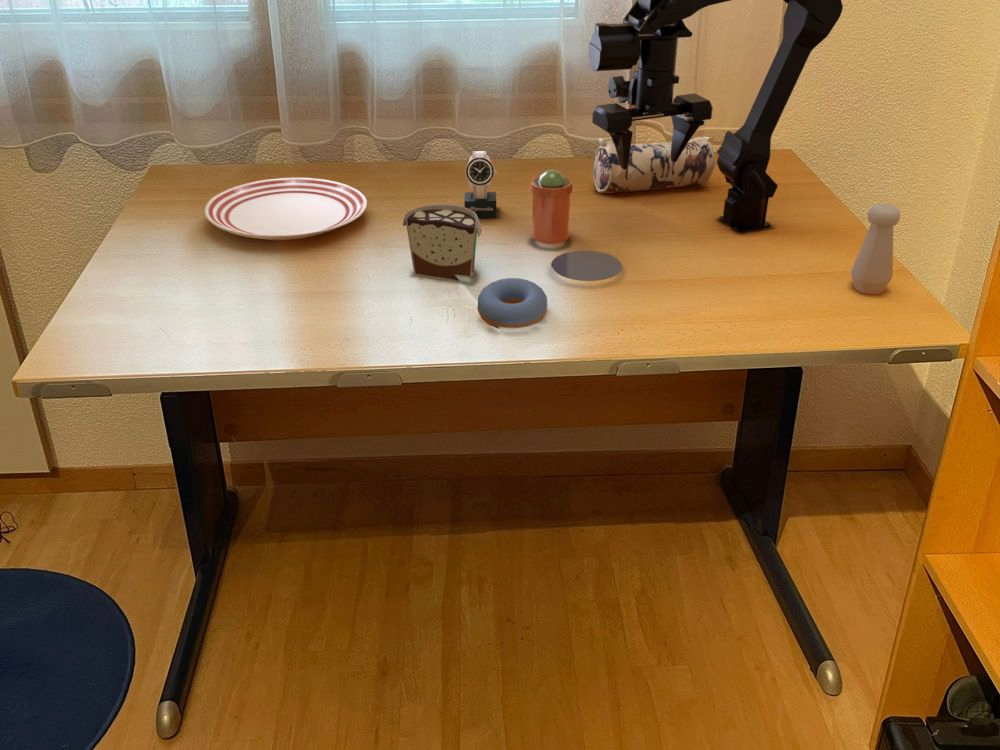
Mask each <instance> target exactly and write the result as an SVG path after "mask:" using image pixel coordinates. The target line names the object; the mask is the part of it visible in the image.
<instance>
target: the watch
mask: <svg viewBox="0 0 1000 750" xmlns="http://www.w3.org/2000/svg"><path fill="white" fill-rule="evenodd" d="M497 174H498V171H497V169H495V166H494V164H493V163H492V161H491V158H490V155H487V151H486V150H474V151H472V155H470V156H469V159H468V163H466V166H465V177H466V179H467V182H468V184H469V187H470V190H471V191H465V192H464V207H465V208H468V209H470V210H472V211H473V212H475V213H476V215H477V217H478V219H497V191H488V190H490V189H491V185H492V183H493V179H494V177H495V175H497ZM472 190H473V191H472Z"/></svg>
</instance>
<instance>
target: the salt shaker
mask: <svg viewBox="0 0 1000 750" xmlns="http://www.w3.org/2000/svg"><path fill="white" fill-rule="evenodd" d="M900 218H901V211H900V209H899V208H898V207H897V206H895V205H892V204H889V203H876V204H874V205H872V206H871V207H870V208H869V209H868V212H867V220H868V222H869V223H870V226H869V228H868V230H867V232H866V234H865V237H864V239H863V242H862V244H861V247H860V249H859V251H858V253H857V256H856V258H855V261H854V262H853V265H852V268H851V270H850V275H851V280H852V283H853V286H854V287H853V288H854V290H857V291H858V292H860V293H862V294H865V295H866V294H867V295H878V294H881V293H882V292H883V291H884V290H885V289H886V288H887V286H889V284H890V282H891V281H892V279H893V272H894V271H893V267H894V265H893V264H894V227H895V226H896V225H897V224H898V223H899V222H900Z"/></svg>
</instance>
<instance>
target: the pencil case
mask: <svg viewBox="0 0 1000 750" xmlns="http://www.w3.org/2000/svg"><path fill="white" fill-rule="evenodd" d="M597 139H598V140H597V141H598V143H599V145H600V146H599V147H598V148H597V150H596V152H595V156H594V162H593V163H594V164H593V181H594V185H595V188H596V190H597V192H598V193H600V194H615V193H627V192H629V193H630V192H637V191H651V190H660V189H671V188H672V189H673V188H678V187H686V186H687V187H688V186H705V185H706V184H707V183H708V182H709V181H710V179H711V177H712V175H713V173H714V169H715V165H716V158H715V157H716V156H715V151H714V147H713V145H712V143H711V142H710V141H714V140H715V139H714V137H711V136H696V137H694V138H691V139H690V140H689V142H688V143H687V145H686V146H685V148H684V150H683V151H682V153H681V155H680V156H679V158H678V160H677V161H676V162H673V161H671V146H672V141H668V142H667V141H666V142H653V143H631V147H630V154H629V161H628V165H627V169H626V170H624V169H622V168H621V165H620V162H619V158H618V155H617V152H616V148H615V145H614V142H613V140H612V138H611V139H610V140H609V141H608V140H607V141H605V140H604V139H603V138H600V137H598V138H597Z"/></svg>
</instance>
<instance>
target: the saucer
mask: <svg viewBox="0 0 1000 750" xmlns="http://www.w3.org/2000/svg"><path fill="white" fill-rule="evenodd" d="M550 267H551V269H552V270H553V272H554V273H556V274H557V275H559V276H561V277H564V278H565V279H570V280H574V281H583V282H595V281H596V282H597V281H603V280H604V281H605V280H608V279H611V278H613V277H615V276H617V275H618V274H619V273H621V271H622V270H623V264H622V262H621V261H620V259H618V258H616V256H613V255H611V254H609V253H606V252H603V251H598V250H597V251H596V250H573V251H568V252H564V253H561V254H559V255H556V256H555V258H553V259H552V261H551V264H550Z"/></svg>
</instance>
